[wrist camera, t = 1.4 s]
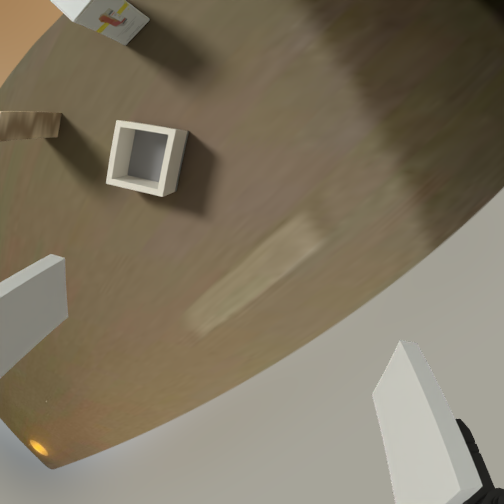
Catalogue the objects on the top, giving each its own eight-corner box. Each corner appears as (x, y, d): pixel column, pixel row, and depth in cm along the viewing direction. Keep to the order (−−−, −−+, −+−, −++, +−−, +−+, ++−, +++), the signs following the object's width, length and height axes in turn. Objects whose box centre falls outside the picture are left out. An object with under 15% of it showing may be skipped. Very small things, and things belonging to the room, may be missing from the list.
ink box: (92, 19, 32) (40, -6, 20) (116, -7, 30) (69, -39, 19) (125, 47, 33) (72, 23, 22) (151, 20, 31) (105, -14, 20)
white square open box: (134, 121, 36) (116, 120, 32) (189, 131, 36) (175, 129, 31) (124, 178, 38) (105, 183, 34) (176, 191, 38) (162, 196, 34)
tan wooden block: (45, 112, 36) (-14, 111, 25) (61, 113, 36) (1, 111, 25) (41, 135, 38) (-18, 139, 26) (57, 137, 37) (-3, 141, 26)
